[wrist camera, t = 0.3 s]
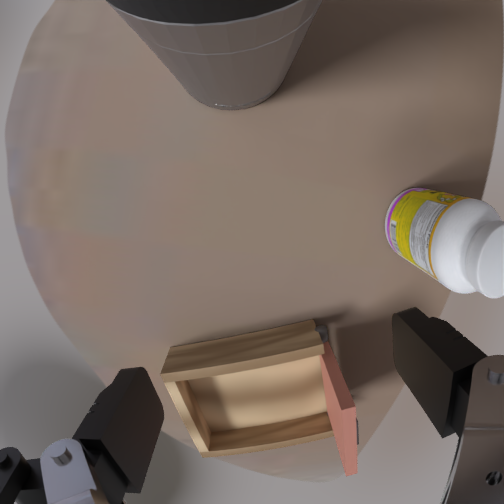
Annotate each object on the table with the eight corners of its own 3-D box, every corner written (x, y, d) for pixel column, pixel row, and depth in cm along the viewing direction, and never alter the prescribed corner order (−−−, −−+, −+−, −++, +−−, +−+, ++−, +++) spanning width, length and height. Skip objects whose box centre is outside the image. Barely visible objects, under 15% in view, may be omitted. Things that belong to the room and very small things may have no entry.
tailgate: (317, 343, 28) (341, 410, 19) (332, 340, 28) (361, 404, 19) (327, 411, 30) (346, 476, 22) (340, 408, 30) (361, 471, 22)
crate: (170, 347, 30) (160, 374, 26) (321, 316, 30) (333, 341, 25) (206, 429, 33) (202, 457, 29) (333, 406, 33) (342, 433, 28)
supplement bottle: (451, 211, 27) (545, 243, 15) (418, 268, 28) (500, 328, 16) (404, 172, 26) (500, 185, 14) (368, 234, 28) (447, 287, 15)
